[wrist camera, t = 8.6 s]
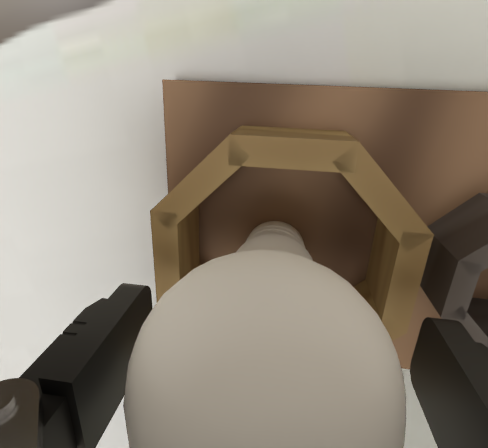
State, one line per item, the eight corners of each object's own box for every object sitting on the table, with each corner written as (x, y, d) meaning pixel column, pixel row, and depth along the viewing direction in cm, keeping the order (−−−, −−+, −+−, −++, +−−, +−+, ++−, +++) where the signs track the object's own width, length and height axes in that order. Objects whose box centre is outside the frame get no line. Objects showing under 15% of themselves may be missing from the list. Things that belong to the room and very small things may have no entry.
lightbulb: (205, 285, 17) (70, 592, 6) (215, 164, 14) (30, 346, 4) (328, 307, 16) (393, 675, 6) (360, 185, 14) (558, 451, 4)
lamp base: (633, 98, 13) (799, 101, 8) (515, 361, 18) (584, 445, 13) (174, 80, 15) (128, 76, 10) (183, 321, 20) (154, 384, 15)
